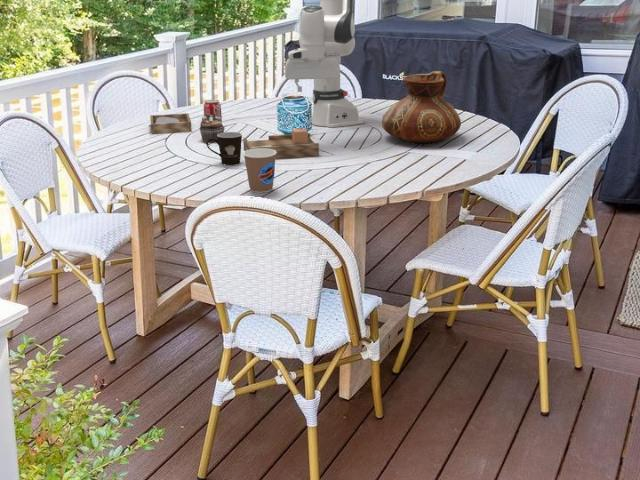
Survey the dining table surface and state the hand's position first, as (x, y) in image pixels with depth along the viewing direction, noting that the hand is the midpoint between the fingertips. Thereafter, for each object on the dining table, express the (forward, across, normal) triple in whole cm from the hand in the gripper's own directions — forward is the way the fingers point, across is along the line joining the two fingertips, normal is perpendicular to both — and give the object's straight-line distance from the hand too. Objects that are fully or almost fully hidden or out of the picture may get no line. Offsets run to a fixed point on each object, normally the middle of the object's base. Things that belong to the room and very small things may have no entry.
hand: (312, 91), depth 292 cm
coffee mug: (+22, +32, +17) cm, 43 cm away
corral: (+21, +54, -41) cm, 71 cm away
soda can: (+21, +37, -35) cm, 55 cm away
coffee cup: (+22, +22, +52) cm, 60 cm away
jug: (+20, -42, -3) cm, 47 cm away
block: (+18, +5, +3) cm, 19 cm away
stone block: (+21, +56, -41) cm, 72 cm away
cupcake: (+21, +37, -16) cm, 46 cm away
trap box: (+21, +13, +7) cm, 25 cm away
